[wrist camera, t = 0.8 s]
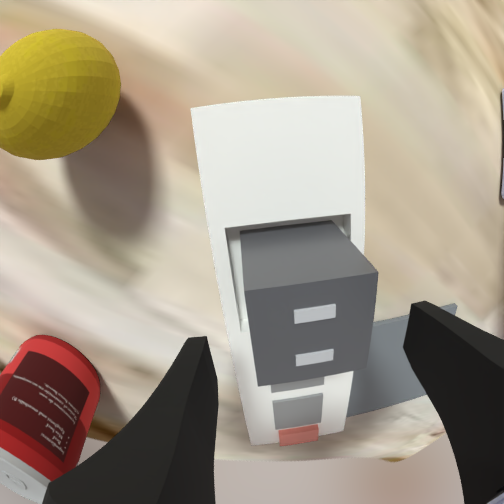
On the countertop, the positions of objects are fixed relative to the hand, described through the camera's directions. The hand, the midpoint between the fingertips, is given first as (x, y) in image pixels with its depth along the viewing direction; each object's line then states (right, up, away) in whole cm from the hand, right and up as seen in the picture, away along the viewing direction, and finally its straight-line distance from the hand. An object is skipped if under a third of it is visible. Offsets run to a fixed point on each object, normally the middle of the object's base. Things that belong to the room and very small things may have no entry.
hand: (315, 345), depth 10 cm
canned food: (-17, -6, +10) cm, 21 cm away
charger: (0, +2, +5) cm, 6 cm away
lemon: (-10, +11, +3) cm, 16 cm away
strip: (0, -1, +9) cm, 9 cm away
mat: (+9, -6, +12) cm, 16 cm away
